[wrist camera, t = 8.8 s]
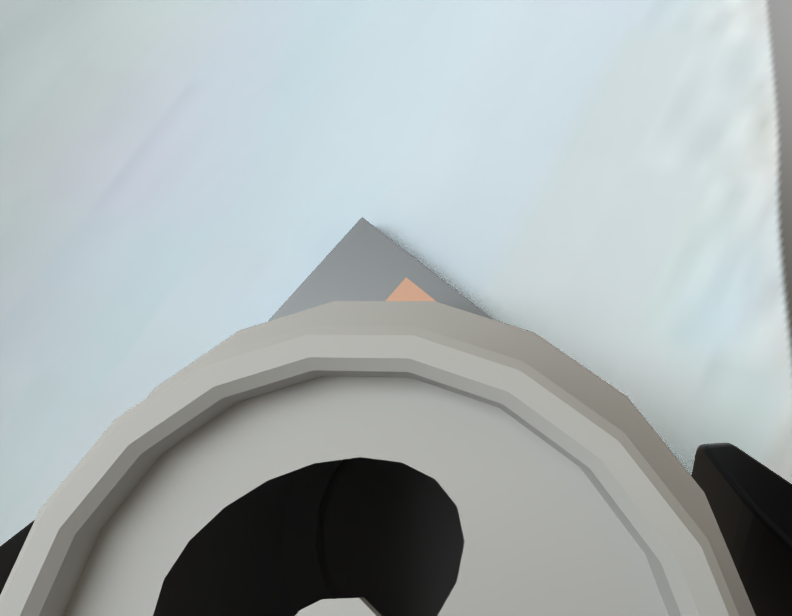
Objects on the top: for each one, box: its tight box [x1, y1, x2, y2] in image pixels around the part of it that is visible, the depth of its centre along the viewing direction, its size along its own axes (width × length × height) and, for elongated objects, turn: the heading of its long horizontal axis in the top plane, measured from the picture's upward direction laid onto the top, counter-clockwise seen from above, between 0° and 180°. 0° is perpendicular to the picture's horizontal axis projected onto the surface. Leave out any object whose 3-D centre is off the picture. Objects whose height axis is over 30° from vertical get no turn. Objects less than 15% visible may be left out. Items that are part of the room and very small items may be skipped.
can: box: [0, 301, 756, 616], centre depth 10 cm, size 8×8×12 cm
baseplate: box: [268, 217, 692, 477], centre depth 19 cm, size 22×18×1 cm
